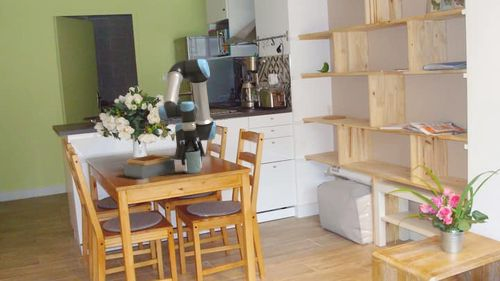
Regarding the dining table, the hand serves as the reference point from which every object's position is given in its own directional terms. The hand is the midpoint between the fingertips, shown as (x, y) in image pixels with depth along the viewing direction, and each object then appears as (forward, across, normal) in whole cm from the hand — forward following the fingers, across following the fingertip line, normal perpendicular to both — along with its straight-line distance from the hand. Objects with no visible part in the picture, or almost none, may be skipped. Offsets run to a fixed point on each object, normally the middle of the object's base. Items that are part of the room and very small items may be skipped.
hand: (192, 169), depth 319 cm
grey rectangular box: (+2, -13, +20) cm, 24 cm away
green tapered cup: (+2, 0, 0) cm, 2 cm away
